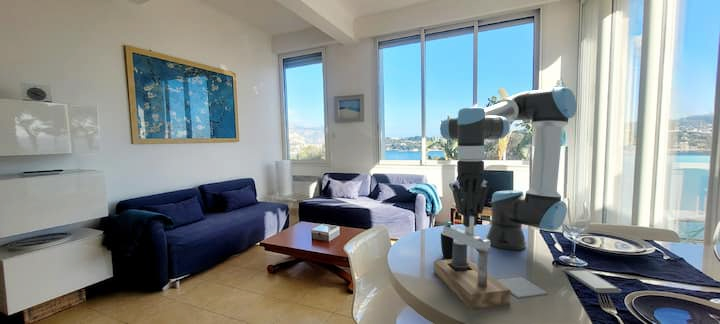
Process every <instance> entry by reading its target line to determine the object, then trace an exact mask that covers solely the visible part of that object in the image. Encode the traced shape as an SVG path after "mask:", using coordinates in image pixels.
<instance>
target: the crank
mask: <svg viewBox="0 0 720 324" xmlns="http://www.w3.org/2000/svg"><path fill="white" fill-rule="evenodd" d="M443 230H444V231H443ZM443 230H442V231H443V234H444V235H446V236H449V237H451V238H453V239H455V240H457V241H459V242H461V243H464V244H466V245H467V247H470V248H472V249H475V250H476V252H478V253H479V252H480V253H488V254H490V253H491V245H490V243H491V241H490V240H488V239H487V238H485V237H484V238H482V237H480V236H477V235H475V234H474V235H473V234H470V233H468V232H466V231H465V230H463V229H460V228H458V227H456V226H453V225H452V221H447V220H446V221H444V225H443Z"/></svg>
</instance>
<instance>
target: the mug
mask: <svg viewBox="0 0 720 324" xmlns="http://www.w3.org/2000/svg"><path fill="white" fill-rule="evenodd" d="M443 231H444V229H442V230H441V231H440V243H441V244H440V245H441V252H442V257H443V260H447V259H453V240H454V239H453V238H451V237H449V236H446V235H444V234H443Z"/></svg>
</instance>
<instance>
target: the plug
mask: <svg viewBox="0 0 720 324" xmlns="http://www.w3.org/2000/svg"><path fill="white" fill-rule="evenodd" d="M467 259H468V245H466V244H464V243H461V242H459V241H457V240H455V239H454V240H453V260H452V261H451V266H452V269H453V270H455V271H456V272H458V271H467V268H468V262H467Z"/></svg>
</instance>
